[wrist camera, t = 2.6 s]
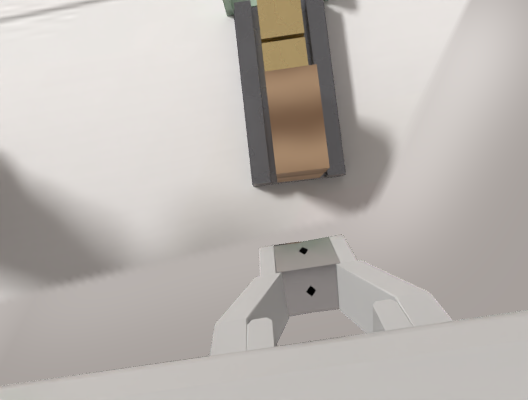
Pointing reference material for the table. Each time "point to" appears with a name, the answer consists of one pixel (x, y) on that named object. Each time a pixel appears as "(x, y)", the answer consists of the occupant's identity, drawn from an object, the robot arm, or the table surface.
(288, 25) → the brass chip
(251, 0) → the tray
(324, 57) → the slot bed
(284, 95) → the brown wooden block
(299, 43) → the brass chip
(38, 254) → the table surface
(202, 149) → the table surface
